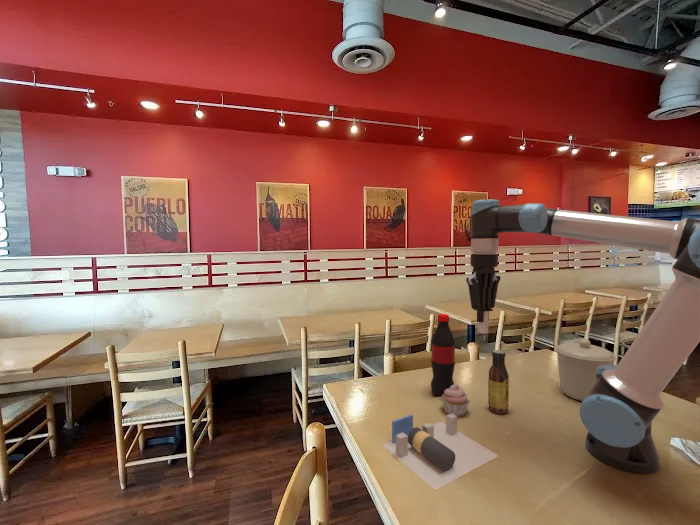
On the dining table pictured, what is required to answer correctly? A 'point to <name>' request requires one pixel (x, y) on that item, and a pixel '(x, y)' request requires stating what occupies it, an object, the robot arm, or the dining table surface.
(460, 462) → the white base plate
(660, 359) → the robot arm
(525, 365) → the dining table surface
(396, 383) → the dining table surface
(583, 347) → the canister
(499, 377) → the sauce bottle
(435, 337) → the cola bottle
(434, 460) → the banded cylinder post
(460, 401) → the cupcake
